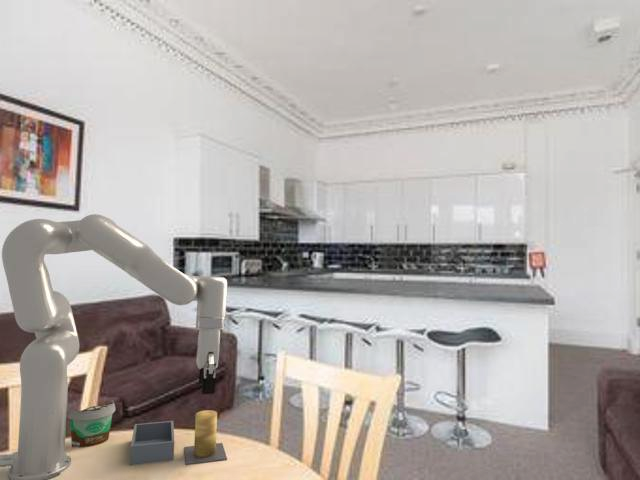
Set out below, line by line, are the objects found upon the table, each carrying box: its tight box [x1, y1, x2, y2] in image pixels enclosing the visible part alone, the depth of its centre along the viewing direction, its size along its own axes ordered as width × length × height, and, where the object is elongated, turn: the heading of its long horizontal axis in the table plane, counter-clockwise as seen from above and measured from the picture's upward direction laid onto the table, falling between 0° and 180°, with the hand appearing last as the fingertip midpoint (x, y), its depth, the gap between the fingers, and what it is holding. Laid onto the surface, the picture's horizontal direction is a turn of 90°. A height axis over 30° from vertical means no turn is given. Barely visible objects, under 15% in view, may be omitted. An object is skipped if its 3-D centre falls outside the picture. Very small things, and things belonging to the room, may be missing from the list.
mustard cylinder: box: [193, 409, 218, 457], centre depth 113 cm, size 6×6×10 cm
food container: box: [67, 399, 116, 448], centre depth 118 cm, size 12×6×10 cm, turn 143°
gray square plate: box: [184, 442, 228, 466], centre depth 113 cm, size 10×10×1 cm
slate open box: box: [129, 420, 175, 466], centre depth 114 cm, size 10×15×5 cm
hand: (206, 388), depth 114 cm, fingers open, 9 cm apart
